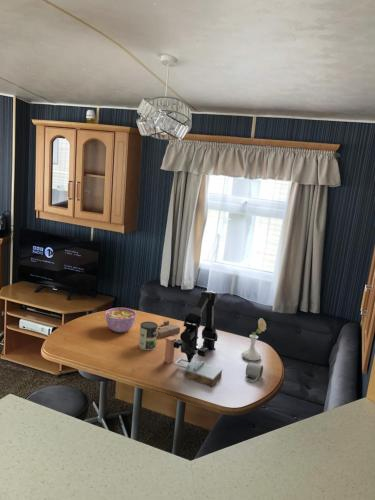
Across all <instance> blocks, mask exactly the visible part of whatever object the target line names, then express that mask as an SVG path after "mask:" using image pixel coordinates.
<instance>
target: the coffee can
mask: <svg viewBox="0 0 375 500" xmlns="http://www.w3.org/2000/svg"><path fill="white" fill-rule="evenodd" d="M139 326H140V327H139V343H138V347H139V349H141V350H144V351H153V350H155V349H156V348H157V338H158V337H157V334H158V328H159V327H158V324H157V323H156V322H154V321H143V322H141V323H140V325H139Z"/></svg>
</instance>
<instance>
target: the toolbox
mask: <svg viewBox="0 0 375 500" xmlns="http://www.w3.org/2000/svg"><path fill="white" fill-rule="evenodd" d="M222 374H223V370H222V371H221V372H220V373H219V374H218V375H217V377H216V378H215V379H214V380H211V379H208V378H205V377H202V376H199V375H197V374H194V373H191V372H188V371H185V370H184V376H183V377H184V378H186V379H188V380H191V381H194V382H197V383H200V384H202V385H205V386H208V387H210V388H213V387H214V386H215V385H216V384H217V382H219V381H220V379H221V378H222Z"/></svg>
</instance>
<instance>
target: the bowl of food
mask: <svg viewBox="0 0 375 500" xmlns="http://www.w3.org/2000/svg"><path fill="white" fill-rule="evenodd" d="M104 315H105V319H106V324H107V326H108V328H109V329H110V330H111V331H113V332H116V333H125V332H127V331H130V330H131V329H132V328H133V326H134V323H135V320H136V317H137V312H136V311H135V310H133V309H131V308H128V307H113V308H109V309H107V310H105V314H104Z"/></svg>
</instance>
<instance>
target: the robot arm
mask: <svg viewBox="0 0 375 500" xmlns="http://www.w3.org/2000/svg"><path fill="white" fill-rule="evenodd" d="M218 298H219V294H218V293H217V292H215V291H211V290H204V291H201V294H200V297H199V299H198V300H197V303H196V304H195V306H194V308H192V309H189V311H188V313H186V316H185V320H184V322H183V326H182V327H184V330H183V331H182V332H181V333H180V336H179V339H176V341H175V342H174V344H173V347H174V349H179V348H180V353H182V354H185V355H186V359H187V360H188V362H187V363H188V364H189V363H190V362H191V361H193V359H194V357H195V355H196V354H197V355H198V356H200V357H202V358H204V357H206V356H207V355H208V354H209V351H215V350H216V347H215V343H216V342H218V339H219V337H218V333H217V328H216V326H215V325H214V319H215V317H214V315H215V313H214V311H215V305H216V303H217V301H218ZM204 310H205V325H204V327H203V329H202V332H201V339H202V340H203V341H202V345H201V347H198V345H199V344H198V339H199V334H198V333H199V328H200V327H201V324H202V321H203V316H202V313H203V312H204Z"/></svg>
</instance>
